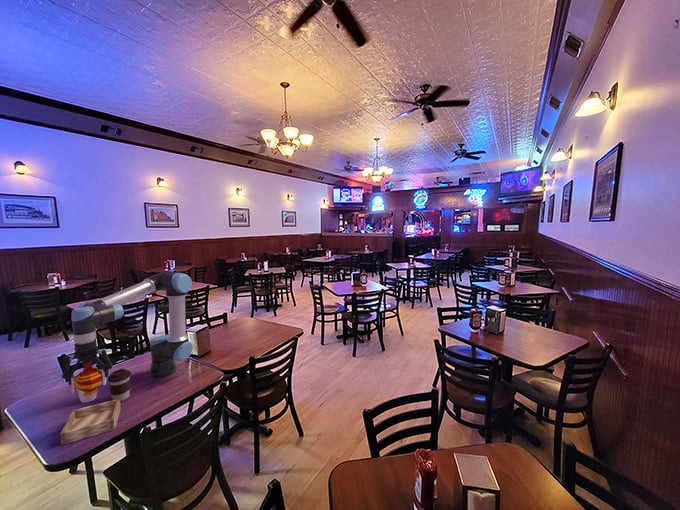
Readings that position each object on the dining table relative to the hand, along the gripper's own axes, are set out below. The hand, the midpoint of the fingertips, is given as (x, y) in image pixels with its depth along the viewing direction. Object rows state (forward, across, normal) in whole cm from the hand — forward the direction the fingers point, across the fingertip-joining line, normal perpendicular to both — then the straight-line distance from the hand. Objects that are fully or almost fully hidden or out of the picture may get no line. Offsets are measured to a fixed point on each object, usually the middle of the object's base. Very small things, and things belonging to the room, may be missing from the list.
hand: (89, 387), depth 130 cm
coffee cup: (+19, -8, -19) cm, 28 cm away
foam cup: (+19, +7, -27) cm, 34 cm away
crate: (+19, 0, 0) cm, 19 cm away
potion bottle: (+3, 0, 0) cm, 3 cm away
